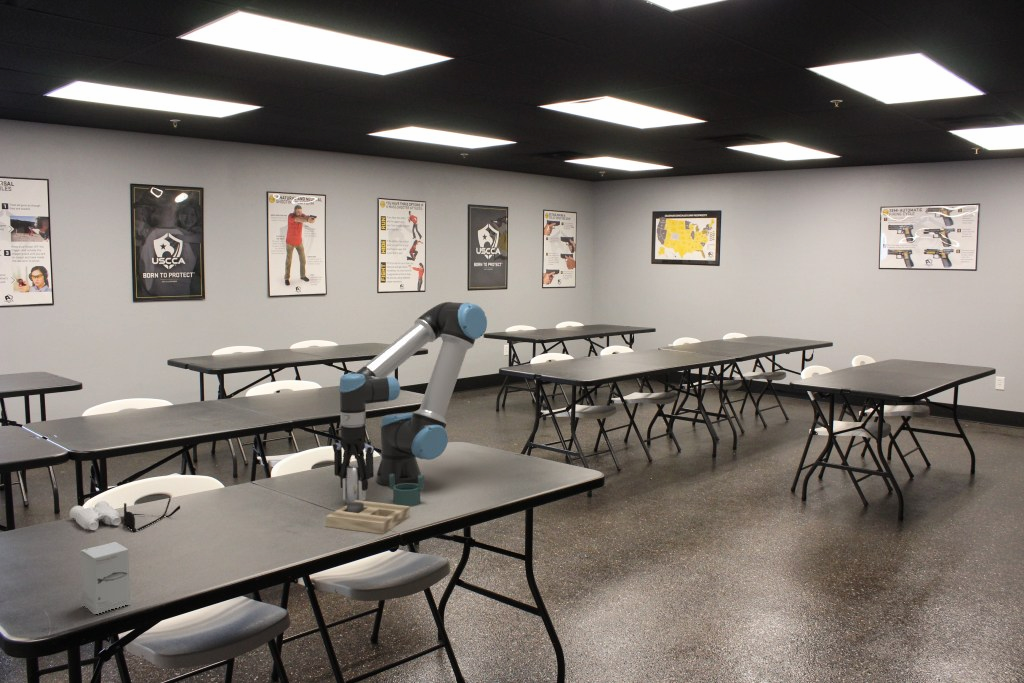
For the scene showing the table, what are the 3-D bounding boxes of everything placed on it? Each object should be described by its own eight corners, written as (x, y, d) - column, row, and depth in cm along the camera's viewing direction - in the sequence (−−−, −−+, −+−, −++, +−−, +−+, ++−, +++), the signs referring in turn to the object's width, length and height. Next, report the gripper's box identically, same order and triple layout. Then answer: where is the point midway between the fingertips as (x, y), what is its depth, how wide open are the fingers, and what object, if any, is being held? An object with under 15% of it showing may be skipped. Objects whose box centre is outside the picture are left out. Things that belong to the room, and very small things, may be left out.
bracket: (425, 504, 238) (425, 475, 237) (397, 508, 233) (397, 479, 233) (414, 496, 246) (414, 469, 245) (387, 501, 241) (386, 473, 240)
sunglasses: (184, 524, 219) (183, 507, 219) (128, 534, 211) (127, 516, 211) (172, 509, 233) (171, 493, 232) (119, 517, 225) (118, 501, 224)
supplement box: (95, 616, 161) (92, 558, 160) (82, 606, 166) (79, 549, 164) (131, 605, 166) (129, 548, 165) (117, 595, 171) (115, 540, 170)
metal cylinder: (351, 502, 240) (351, 464, 238) (364, 503, 238) (363, 465, 237) (344, 506, 235) (343, 467, 234) (356, 507, 234) (356, 469, 233)
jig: (356, 509, 232) (355, 495, 232) (409, 516, 226) (409, 501, 226) (326, 526, 217) (326, 511, 217) (383, 534, 211) (382, 518, 211)
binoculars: (109, 513, 229) (108, 498, 228) (126, 526, 217) (125, 510, 217) (69, 521, 222) (68, 505, 221) (85, 535, 210) (84, 518, 210)
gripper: (320, 425, 234) (322, 499, 236) (372, 429, 228) (374, 506, 230) (334, 420, 241) (335, 493, 243) (385, 424, 235) (386, 499, 237)
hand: (354, 499), depth 237 cm, fingers open, 5 cm apart
